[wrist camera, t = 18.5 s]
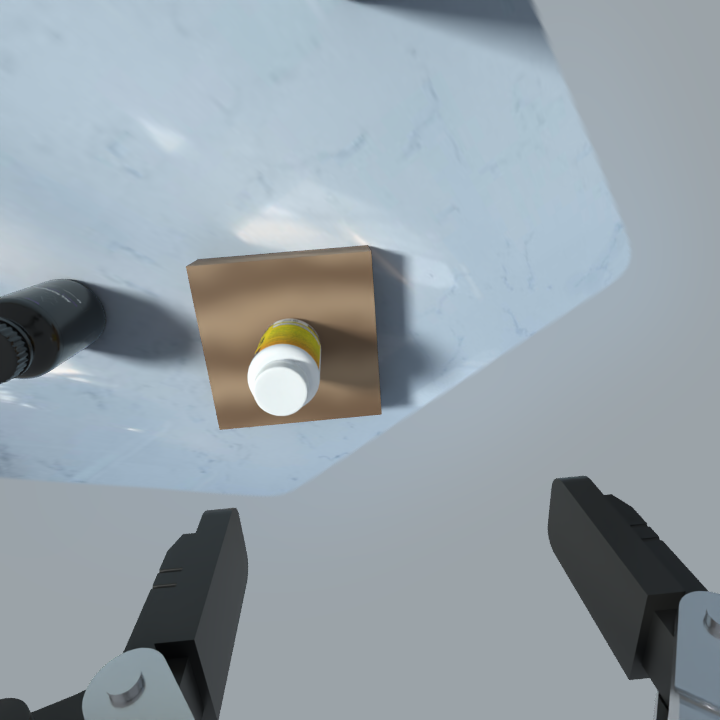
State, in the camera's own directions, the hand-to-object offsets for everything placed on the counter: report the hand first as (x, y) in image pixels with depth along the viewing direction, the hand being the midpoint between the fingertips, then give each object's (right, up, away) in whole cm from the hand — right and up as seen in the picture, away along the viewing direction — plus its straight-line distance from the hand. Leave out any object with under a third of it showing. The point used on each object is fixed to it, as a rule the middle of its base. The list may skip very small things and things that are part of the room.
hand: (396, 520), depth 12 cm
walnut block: (-8, +7, +35) cm, 37 cm away
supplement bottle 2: (-7, +6, +32) cm, 33 cm away
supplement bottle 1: (-29, +9, +33) cm, 45 cm away
